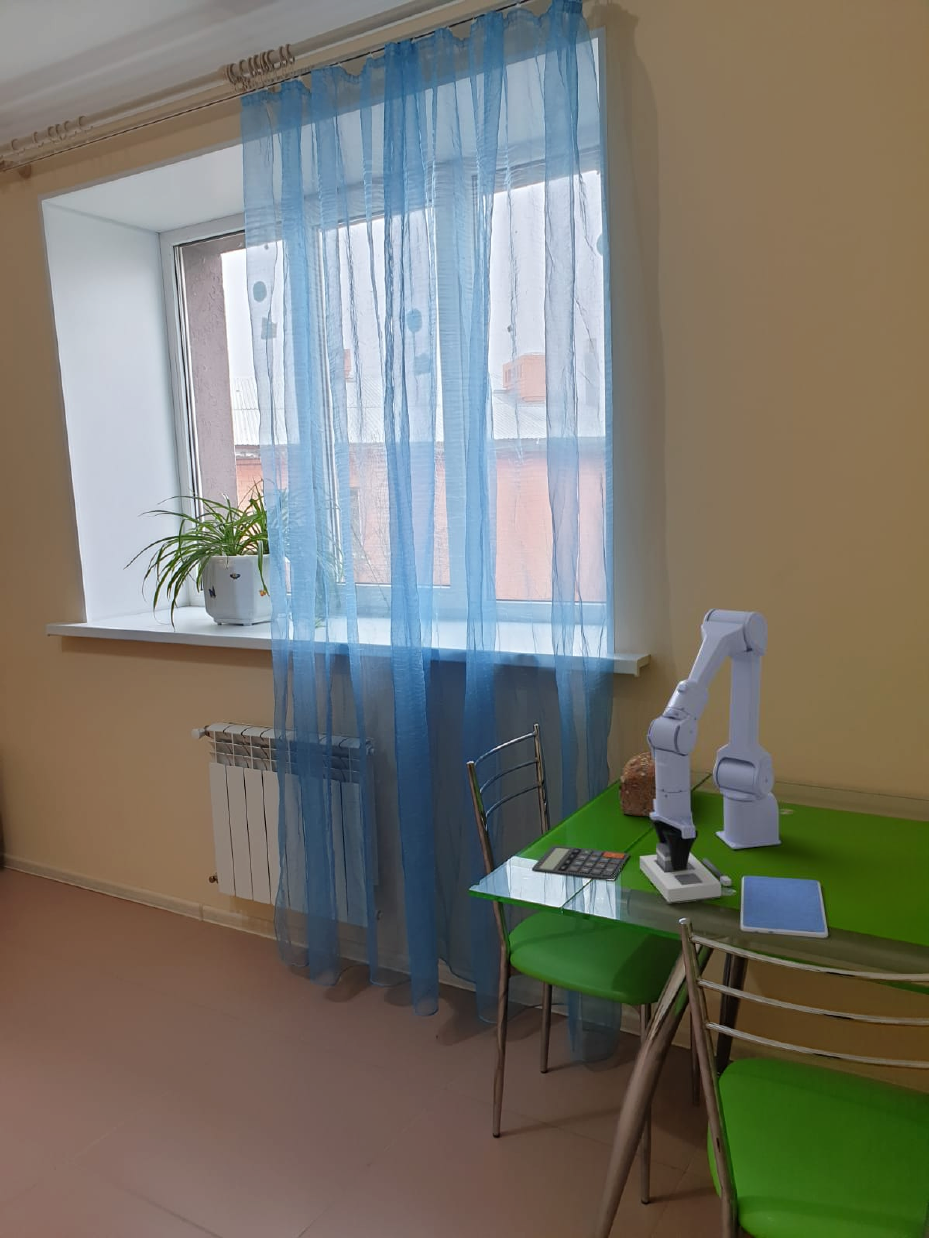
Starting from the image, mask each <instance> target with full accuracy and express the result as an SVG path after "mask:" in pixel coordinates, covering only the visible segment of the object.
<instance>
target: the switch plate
mask: <svg viewBox="0 0 929 1238" xmlns="http://www.w3.org/2000/svg"><path fill="white" fill-rule="evenodd" d="M640 869H641V870H642V871H643V873H645V875H646V876H647V877H648V878H649V879H650V881H651V882H652V883H653V884H654V886H656V888H657V889H658V890H659V891H660V893H661V894H662V895H663V897H664V898H665V899H666V900H667V902H668V903H677V902H683V901H690V900H691V901H692V900H703V901H708V900H707V899H711V900H716V899H715V898H719V897H721V898H722V883H721V882H720V880H719V879H718V878H716V876H714V875H713V874H712V872H710V871H709V870H708V869H707V868H706V866H704V865H703V864H702V863H701V861H700V860H699V859H697V858H696V857H695V856H694V854H692V853H691V852H690V854H689V858H688V870H685V871H676V872H668V873H664V871H663V870H662V869H661V868H660V867H659V866H658V865H657V854H649V855H640V856H639V870H640ZM643 873H642V874H643ZM667 902H666V903H667Z"/></svg>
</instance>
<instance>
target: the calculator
mask: <svg viewBox="0 0 929 1238" xmlns="http://www.w3.org/2000/svg"><path fill="white" fill-rule="evenodd" d="M629 855H631V854H630V853H628V852H617V851H611V850H610V851H609V850H600V849H593V848H592V849H591V848H582V847H573V846H566V845H565V846H564V845H563V846H562V845H553V844H552V845H551V846H550V847H549V848H548V849H547V851H546V852H544V854H543V855H542V856H541V857H540V859H539V860H537V862H536V863H535V864H534V866H533V867H532V868H531V870H532V872H538V873H544V874H545V873H546V874H555V875H561V876H562V875H563V876H569V877H570V876H571V877H577V878H578V877H579V878H586V879H587V878H588V879H594V880H601V879H614V878H615V877H616V878H617V876H618V875H617V873H618V872H619V870H620V869H621V867H622V866H623V864H624V862H625V861H626V859H627V858H628V856H629ZM629 857H630V856H629ZM628 859H629V858H628ZM626 862H627V861H626ZM624 865H625V864H624ZM623 867H624V866H623ZM623 867H622V868H623ZM621 870H622V869H621ZM621 870H620V871H621ZM619 873H620V872H619ZM619 873H618V874H619ZM616 875H617V876H616ZM616 878H615V879H616Z"/></svg>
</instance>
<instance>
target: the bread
mask: <svg viewBox="0 0 929 1238" xmlns="http://www.w3.org/2000/svg"><path fill="white" fill-rule="evenodd" d="M619 777H620V778H619V786H618V790H619V792H618V795H619V796H618V797H619V800H620V807H621V812H622V813H623V814H626V815H630V816H640V817H647V818H648V817H649V818H650V813H651V812H655V810H654V803H653V799H656V779H655V760H654V759H653V757H652V751H651V750H646V751H643V752H641V753H639V754H638V755H636V756H633V757H631V758H630V759H628V761H627V763H626V764H625V766H624V767H623V768H622V774H621V775H620V776H619Z"/></svg>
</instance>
